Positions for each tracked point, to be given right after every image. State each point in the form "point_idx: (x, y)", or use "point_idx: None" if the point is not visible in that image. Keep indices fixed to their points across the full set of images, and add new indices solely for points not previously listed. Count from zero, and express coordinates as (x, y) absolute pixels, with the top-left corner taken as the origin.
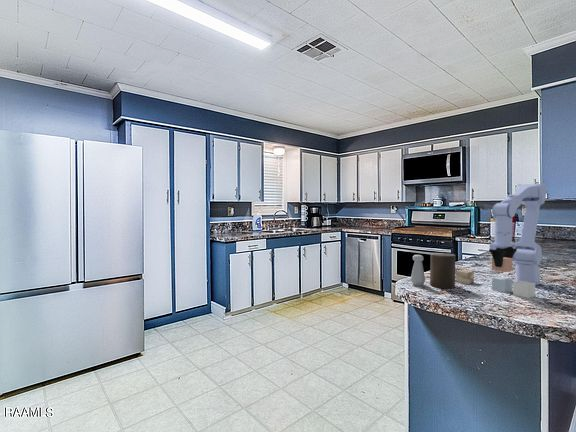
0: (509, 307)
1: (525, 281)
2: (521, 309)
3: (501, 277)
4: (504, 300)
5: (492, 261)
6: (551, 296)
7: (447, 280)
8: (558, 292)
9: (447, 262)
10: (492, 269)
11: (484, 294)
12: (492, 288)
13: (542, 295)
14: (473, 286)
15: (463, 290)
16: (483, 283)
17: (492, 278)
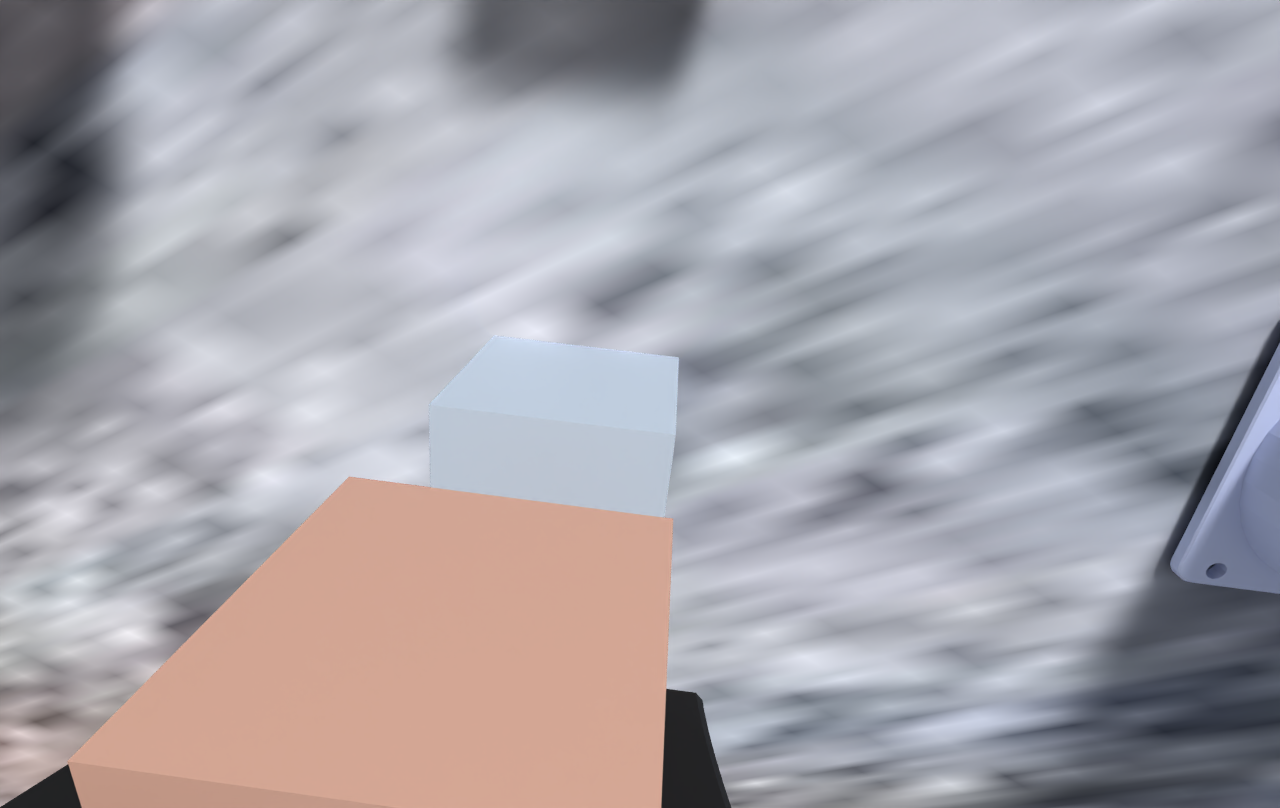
0: (14, 696)
1: (1271, 530)
2: (67, 759)
3: (626, 484)
4: (169, 603)
5: (202, 639)
6: (767, 795)
7: None
8: (1033, 799)
9: None
10: (343, 493)
11: (166, 386)
12: (489, 346)
13: (737, 745)
14: (431, 45)
15: (44, 98)
16: (828, 28)
17: (432, 404)
